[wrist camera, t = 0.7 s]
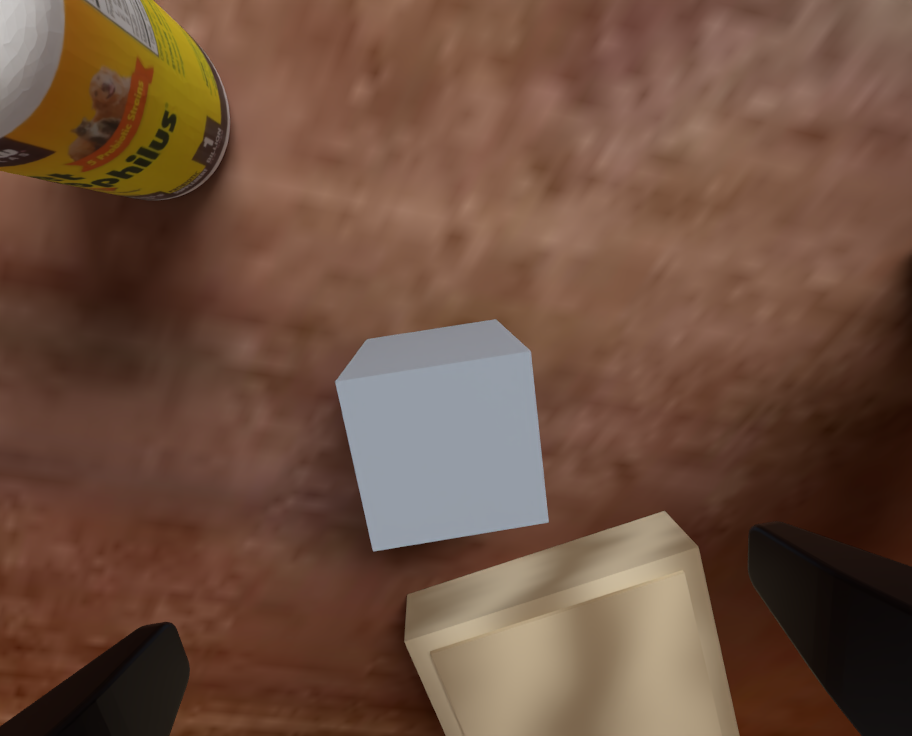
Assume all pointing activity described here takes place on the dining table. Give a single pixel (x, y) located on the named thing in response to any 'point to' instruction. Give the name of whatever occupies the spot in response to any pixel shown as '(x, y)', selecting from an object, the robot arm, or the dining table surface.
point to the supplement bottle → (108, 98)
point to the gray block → (444, 434)
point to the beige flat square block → (577, 641)
